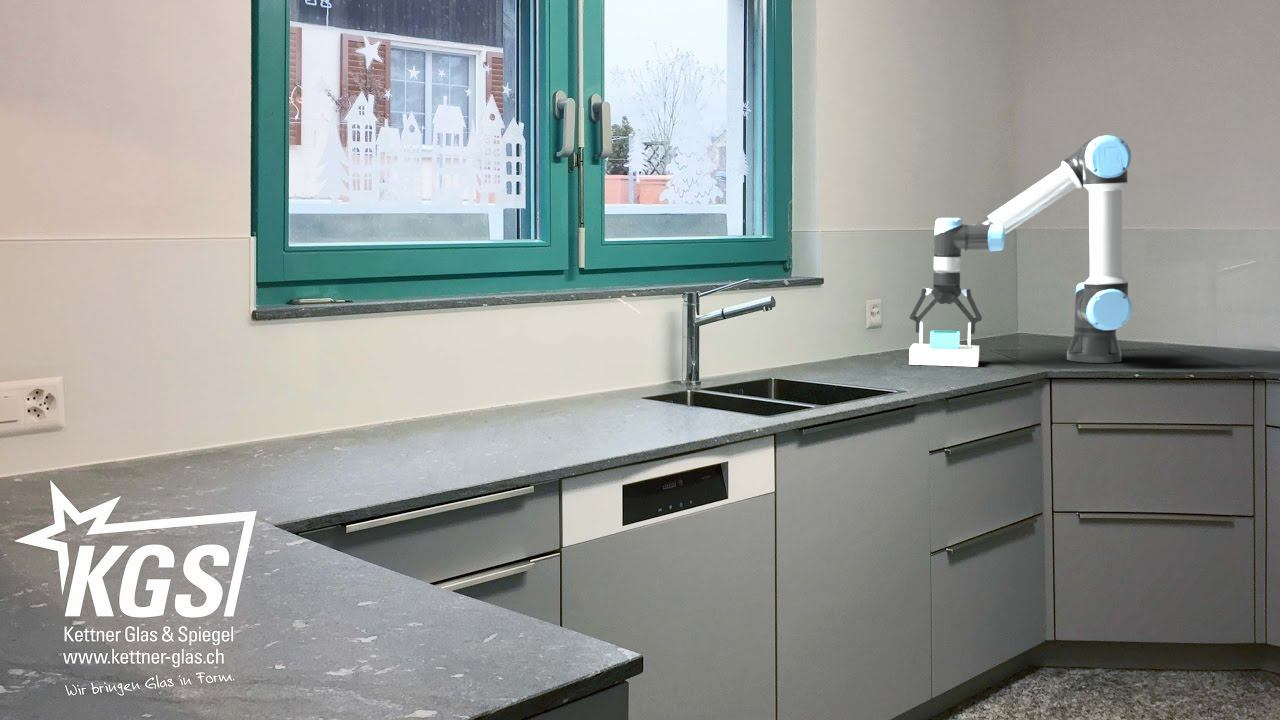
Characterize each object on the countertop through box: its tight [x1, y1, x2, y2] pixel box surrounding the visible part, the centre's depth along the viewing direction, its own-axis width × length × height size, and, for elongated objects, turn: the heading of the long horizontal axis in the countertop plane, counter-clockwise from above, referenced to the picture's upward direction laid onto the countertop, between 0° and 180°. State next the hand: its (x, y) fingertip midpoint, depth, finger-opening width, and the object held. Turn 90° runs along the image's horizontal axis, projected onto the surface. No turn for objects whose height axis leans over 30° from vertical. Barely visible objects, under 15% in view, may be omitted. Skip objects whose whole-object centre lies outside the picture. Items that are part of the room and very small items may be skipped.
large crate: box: [908, 343, 980, 368], centre depth 352 cm, size 19×14×4 cm
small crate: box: [929, 329, 961, 350], centre depth 351 cm, size 8×8×8 cm
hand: (944, 344), depth 351 cm, fingers open, 13 cm apart
